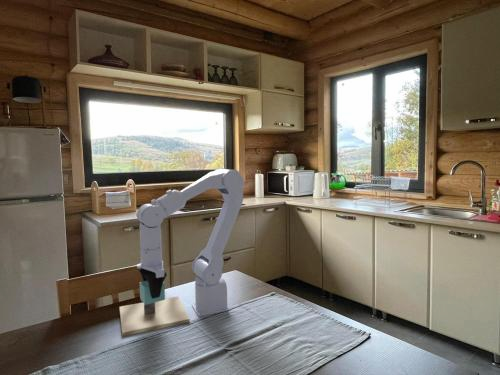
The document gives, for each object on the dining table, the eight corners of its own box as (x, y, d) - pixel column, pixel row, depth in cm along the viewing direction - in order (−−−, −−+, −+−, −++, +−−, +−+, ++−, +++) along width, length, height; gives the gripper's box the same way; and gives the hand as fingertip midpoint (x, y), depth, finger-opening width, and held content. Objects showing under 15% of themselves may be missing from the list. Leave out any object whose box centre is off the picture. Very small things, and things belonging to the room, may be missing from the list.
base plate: (178, 299, 109) (177, 284, 109) (189, 322, 95) (189, 305, 94) (119, 309, 102) (118, 294, 102) (122, 336, 88) (121, 318, 87)
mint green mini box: (159, 294, 97) (158, 277, 97) (164, 299, 94) (164, 282, 93) (140, 299, 94) (139, 281, 94) (144, 305, 91) (144, 287, 90)
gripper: (129, 243, 96) (131, 288, 98) (144, 256, 84) (146, 307, 86) (153, 239, 100) (155, 283, 102) (171, 251, 88) (172, 300, 90)
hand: (152, 294), depth 94 cm, fingers closed on mint green mini box, 4 cm apart
